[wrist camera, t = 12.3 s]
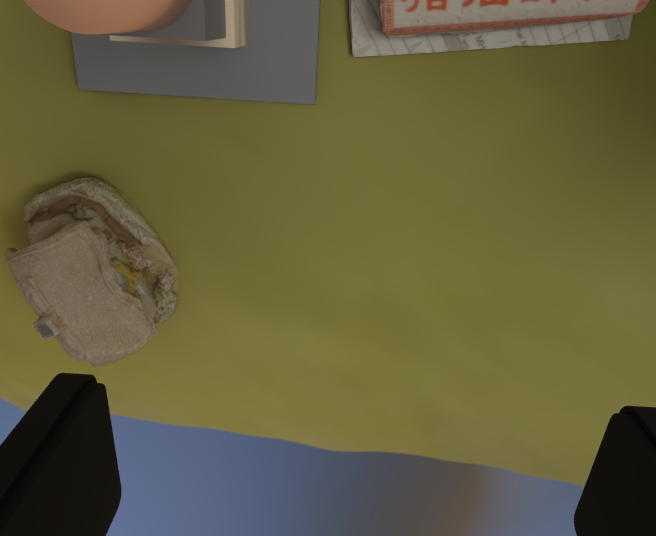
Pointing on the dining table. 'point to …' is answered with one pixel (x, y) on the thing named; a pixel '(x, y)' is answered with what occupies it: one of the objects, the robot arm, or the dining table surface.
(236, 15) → the birch block
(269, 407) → the dining table surface
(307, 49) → the slate mat
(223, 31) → the charcoal block
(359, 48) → the packaged product
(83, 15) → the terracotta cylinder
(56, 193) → the stuffed bread roll
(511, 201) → the dining table surface
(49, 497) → the robot arm
